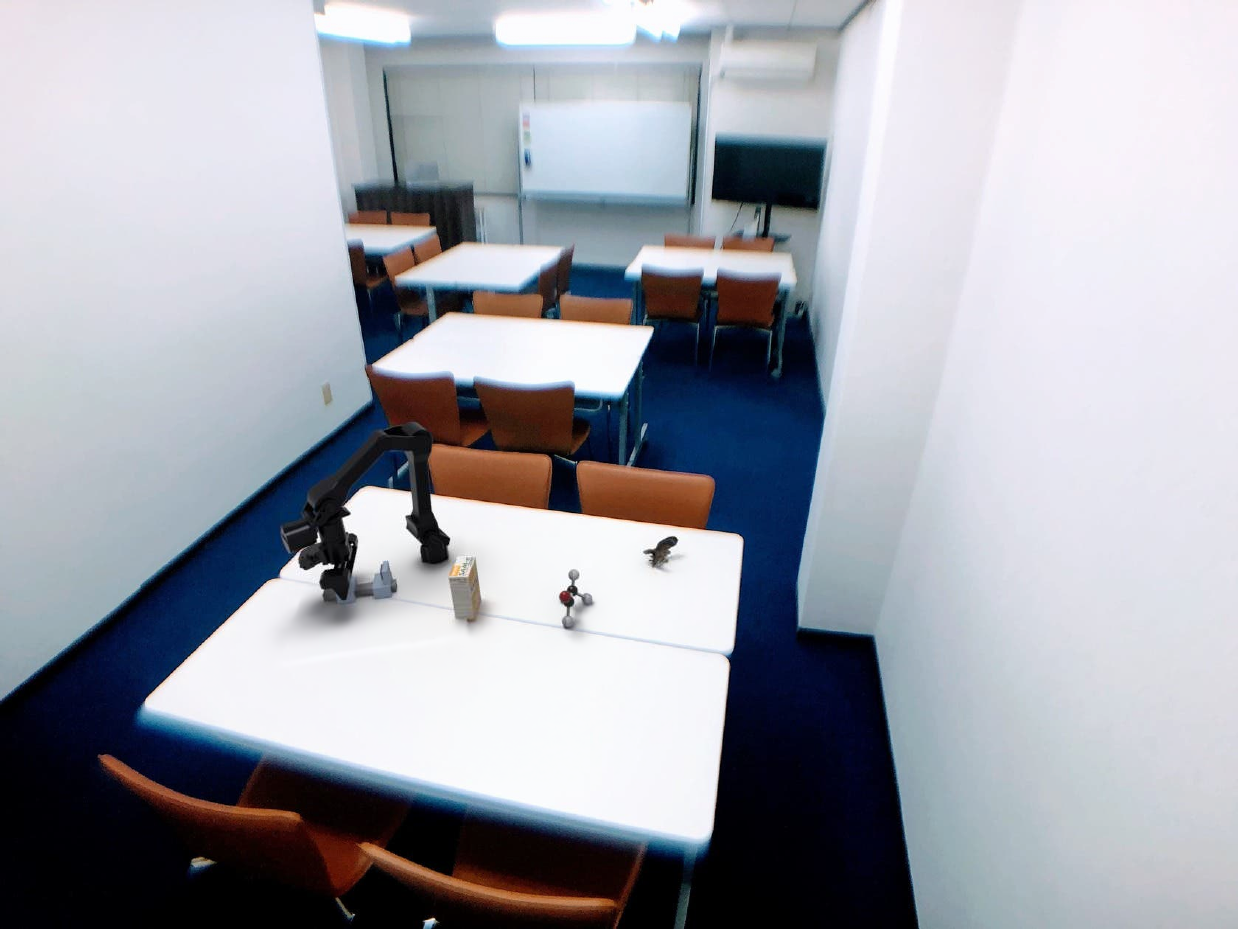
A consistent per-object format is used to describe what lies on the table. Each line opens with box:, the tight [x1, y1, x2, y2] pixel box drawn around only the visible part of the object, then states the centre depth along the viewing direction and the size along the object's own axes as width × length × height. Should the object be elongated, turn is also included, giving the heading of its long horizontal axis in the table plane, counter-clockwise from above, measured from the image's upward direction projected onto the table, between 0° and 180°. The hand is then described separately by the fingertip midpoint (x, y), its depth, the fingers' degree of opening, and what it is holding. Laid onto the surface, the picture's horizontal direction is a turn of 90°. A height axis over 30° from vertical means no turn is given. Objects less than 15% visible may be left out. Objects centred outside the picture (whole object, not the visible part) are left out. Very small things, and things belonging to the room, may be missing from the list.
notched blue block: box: [335, 576, 359, 605], centre depth 168 cm, size 4×6×7 cm, turn 12°
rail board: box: [322, 578, 398, 603], centre depth 171 cm, size 18×9×3 cm, turn 102°
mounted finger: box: [372, 560, 394, 600], centre depth 170 cm, size 4×6×7 cm, turn 12°
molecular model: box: [558, 569, 593, 628], centre depth 162 cm, size 8×12×11 cm
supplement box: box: [448, 556, 482, 622], centre depth 163 cm, size 8×5×13 cm, turn 179°
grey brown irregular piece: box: [642, 535, 679, 568], centre depth 181 cm, size 8×7×9 cm
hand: (346, 588), depth 169 cm, fingers open, 9 cm apart
